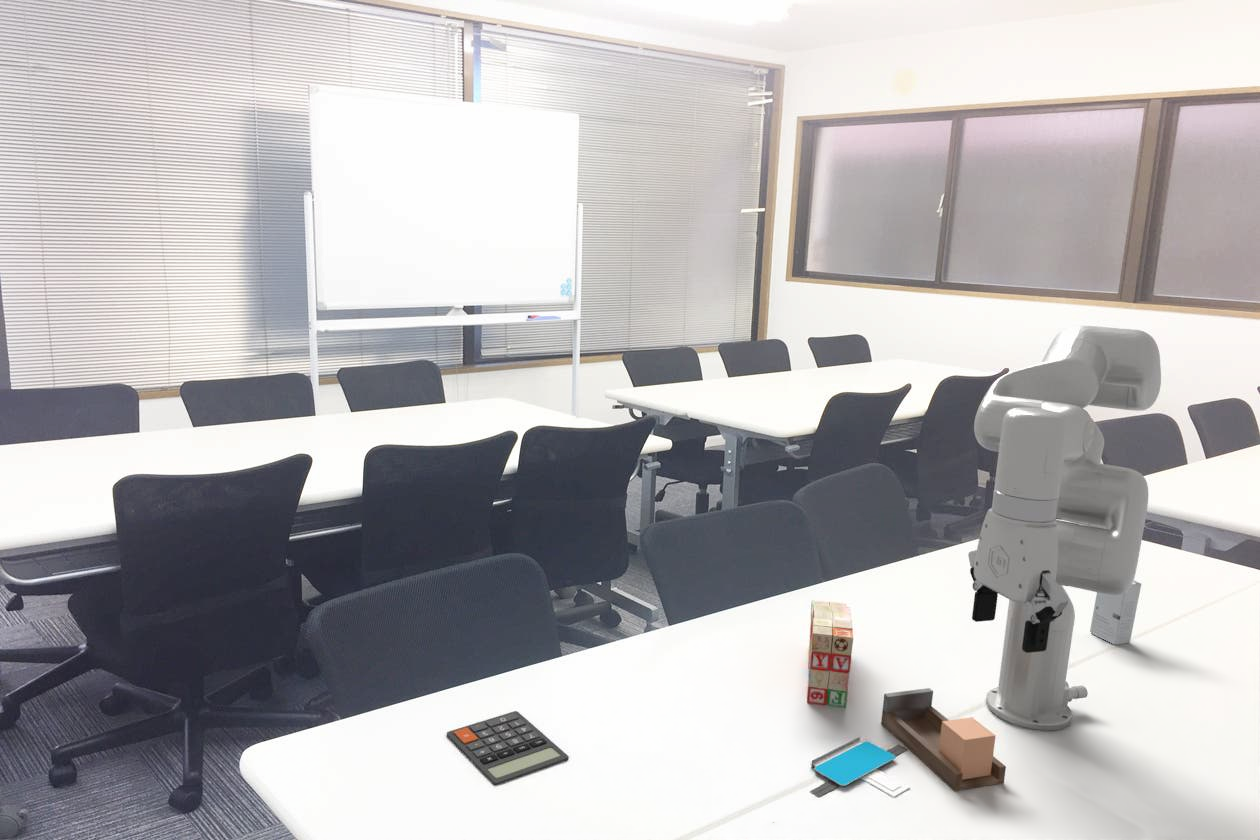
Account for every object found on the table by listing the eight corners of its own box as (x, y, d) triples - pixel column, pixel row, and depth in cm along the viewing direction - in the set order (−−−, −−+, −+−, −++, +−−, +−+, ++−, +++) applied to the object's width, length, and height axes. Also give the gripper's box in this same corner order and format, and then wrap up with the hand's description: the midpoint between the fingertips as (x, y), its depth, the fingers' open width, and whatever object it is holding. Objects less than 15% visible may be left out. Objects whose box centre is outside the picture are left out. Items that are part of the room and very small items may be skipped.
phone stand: (855, 824, 119) (856, 812, 118) (784, 780, 128) (785, 769, 127) (943, 772, 131) (944, 761, 131) (873, 735, 140) (874, 725, 140)
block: (967, 755, 133) (972, 717, 132) (990, 775, 128) (995, 735, 127) (937, 760, 131) (942, 721, 130) (959, 780, 127) (964, 740, 126)
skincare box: (1088, 633, 179) (1097, 573, 177) (1105, 630, 181) (1114, 571, 179) (1115, 646, 174) (1125, 585, 171) (1133, 643, 176) (1142, 582, 173)
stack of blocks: (807, 647, 168) (813, 583, 166) (843, 651, 167) (849, 587, 165) (806, 704, 148) (812, 631, 145) (846, 709, 147) (853, 636, 144)
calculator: (516, 709, 141) (569, 755, 129) (516, 715, 141) (569, 761, 130) (445, 731, 134) (495, 782, 123) (445, 737, 135) (494, 788, 123)
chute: (926, 717, 145) (929, 688, 144) (1003, 782, 128) (1008, 749, 127) (881, 723, 142) (884, 693, 141) (954, 791, 125) (958, 757, 125)
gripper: (956, 489, 124) (941, 611, 127) (1048, 528, 107) (1029, 667, 110) (1003, 488, 126) (988, 607, 129) (1101, 526, 110) (1081, 661, 113)
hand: (1007, 635), depth 120 cm, fingers open, 9 cm apart
